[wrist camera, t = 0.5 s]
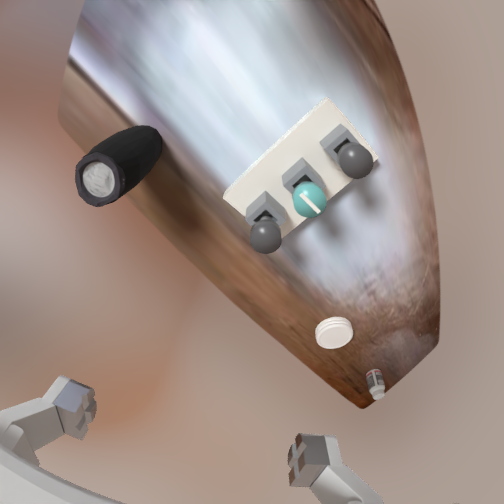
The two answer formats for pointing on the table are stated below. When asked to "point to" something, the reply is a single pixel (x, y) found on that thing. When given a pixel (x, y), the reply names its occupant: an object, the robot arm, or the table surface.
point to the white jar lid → (334, 332)
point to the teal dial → (309, 199)
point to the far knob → (265, 235)
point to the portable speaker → (117, 165)
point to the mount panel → (296, 167)
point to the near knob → (355, 160)
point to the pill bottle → (375, 383)
